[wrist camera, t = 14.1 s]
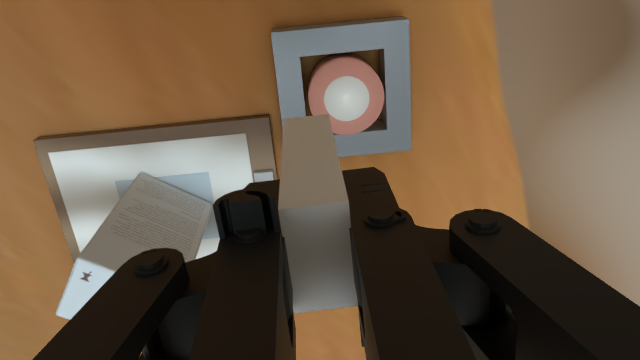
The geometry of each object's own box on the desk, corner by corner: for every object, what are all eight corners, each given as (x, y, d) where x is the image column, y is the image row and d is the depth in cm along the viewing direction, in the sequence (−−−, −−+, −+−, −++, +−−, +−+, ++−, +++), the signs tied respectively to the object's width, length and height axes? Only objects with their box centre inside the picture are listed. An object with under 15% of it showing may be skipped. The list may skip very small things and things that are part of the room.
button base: (272, 28, 34) (270, 32, 32) (401, 16, 34) (409, 19, 32) (287, 151, 38) (286, 162, 36) (404, 139, 38) (411, 149, 36)
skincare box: (120, 215, 38) (49, 315, 27) (140, 169, 37) (74, 255, 26) (194, 246, 40) (155, 353, 28) (216, 203, 38) (184, 298, 27)
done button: (304, 56, 34) (305, 64, 32) (375, 49, 35) (382, 56, 32) (311, 125, 36) (312, 138, 34) (378, 119, 36) (385, 131, 34)
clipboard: (38, 137, 36) (29, 143, 35) (269, 114, 37) (268, 119, 35) (86, 284, 42) (80, 294, 40) (289, 264, 42) (288, 273, 40)
